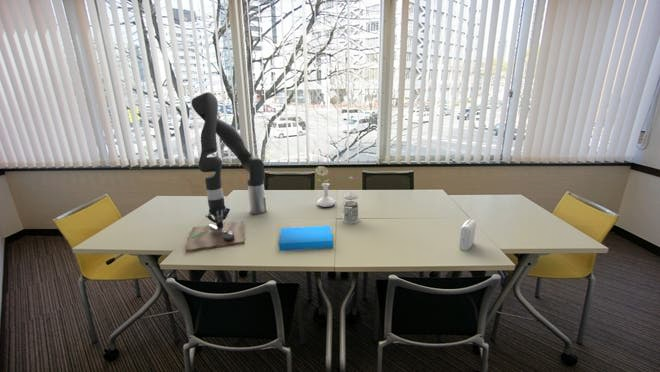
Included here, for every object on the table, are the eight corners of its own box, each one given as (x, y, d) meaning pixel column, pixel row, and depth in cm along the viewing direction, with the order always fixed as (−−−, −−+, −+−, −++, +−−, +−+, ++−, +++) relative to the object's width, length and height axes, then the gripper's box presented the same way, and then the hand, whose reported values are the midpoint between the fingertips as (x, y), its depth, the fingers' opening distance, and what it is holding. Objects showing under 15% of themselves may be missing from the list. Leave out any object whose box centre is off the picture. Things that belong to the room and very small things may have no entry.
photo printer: (467, 251, 137) (470, 226, 133) (457, 248, 139) (460, 223, 136) (474, 243, 144) (477, 218, 140) (465, 240, 147) (468, 216, 143)
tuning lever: (236, 238, 149) (235, 232, 148) (227, 242, 145) (226, 236, 144) (214, 227, 161) (213, 221, 161) (205, 230, 158) (204, 225, 157)
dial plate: (243, 223, 170) (243, 220, 170) (244, 244, 147) (244, 240, 147) (193, 229, 164) (192, 226, 163) (186, 252, 141) (185, 249, 140)
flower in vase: (338, 203, 195) (338, 165, 188) (328, 209, 186) (328, 169, 179) (321, 200, 202) (320, 163, 194) (311, 205, 193) (309, 167, 185)
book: (280, 228, 155) (329, 224, 157) (281, 236, 157) (330, 232, 159) (278, 244, 139) (333, 240, 141) (279, 253, 140) (333, 248, 142)
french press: (363, 219, 172) (364, 176, 164) (350, 226, 164) (350, 181, 156) (349, 214, 179) (349, 173, 171) (336, 221, 171) (335, 177, 163)
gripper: (222, 191, 159) (227, 222, 165) (198, 199, 149) (204, 231, 155) (231, 194, 155) (235, 225, 160) (207, 202, 145) (212, 235, 150)
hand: (220, 228), depth 158 cm, fingers closed
